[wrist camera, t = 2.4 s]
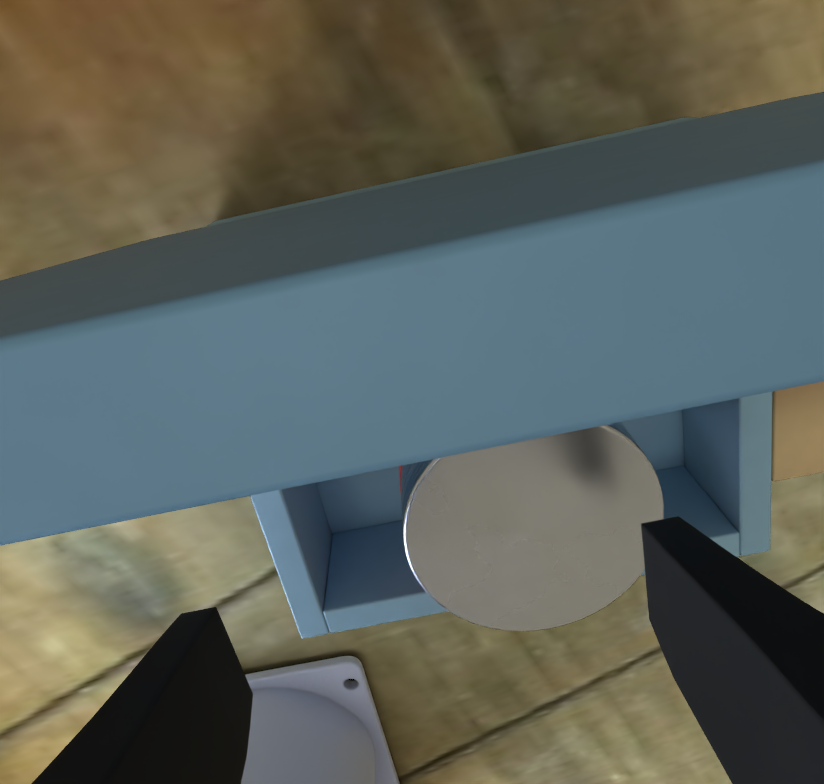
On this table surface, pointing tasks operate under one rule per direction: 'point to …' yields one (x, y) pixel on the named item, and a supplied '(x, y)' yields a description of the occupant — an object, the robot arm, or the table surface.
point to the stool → (797, 431)
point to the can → (531, 527)
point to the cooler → (382, 514)
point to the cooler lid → (417, 321)
